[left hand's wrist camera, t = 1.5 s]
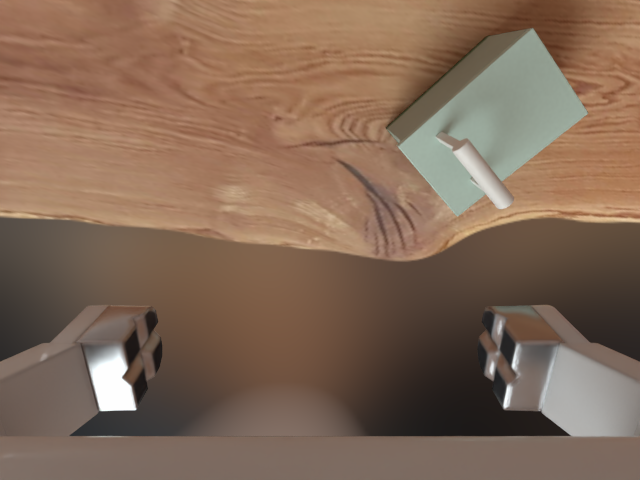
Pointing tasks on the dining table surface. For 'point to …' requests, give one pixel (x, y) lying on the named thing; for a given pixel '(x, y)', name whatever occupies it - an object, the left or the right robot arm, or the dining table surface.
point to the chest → (450, 83)
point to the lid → (494, 125)
